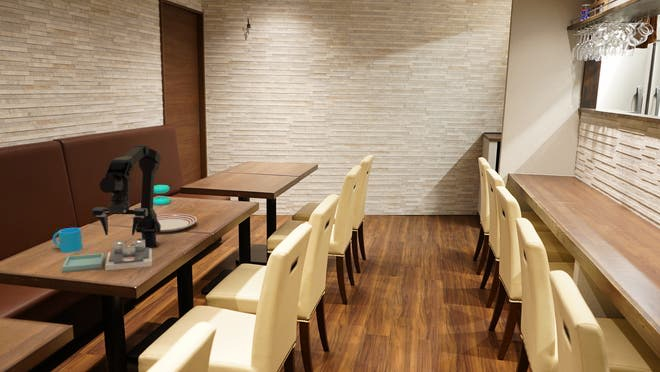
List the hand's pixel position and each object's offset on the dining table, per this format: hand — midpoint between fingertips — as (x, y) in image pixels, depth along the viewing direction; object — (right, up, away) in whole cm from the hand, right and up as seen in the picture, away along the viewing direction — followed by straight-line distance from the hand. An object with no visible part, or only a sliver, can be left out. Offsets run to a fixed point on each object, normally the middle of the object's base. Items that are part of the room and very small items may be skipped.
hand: (119, 235), depth 197 cm
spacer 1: (-4, -7, +10) cm, 12 cm away
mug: (-30, -8, +22) cm, 38 cm away
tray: (-14, -11, +3) cm, 19 cm away
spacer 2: (+2, -8, +5) cm, 10 cm away
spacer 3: (+3, -7, +12) cm, 14 cm away
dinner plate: (0, -2, +56) cm, 56 cm away
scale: (+1, -11, +7) cm, 13 cm away
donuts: (-18, +8, +105) cm, 107 cm away
